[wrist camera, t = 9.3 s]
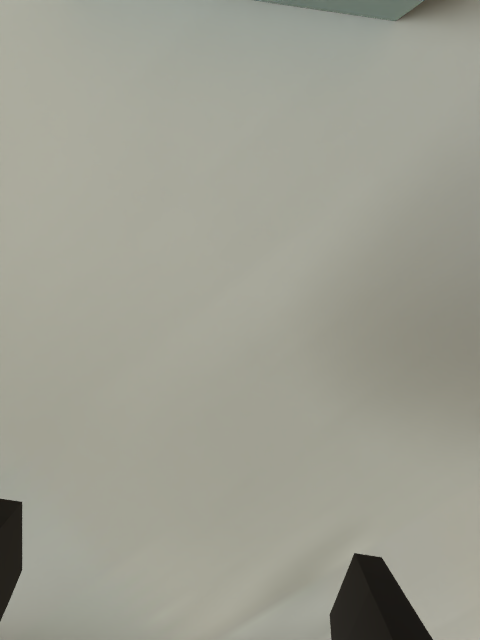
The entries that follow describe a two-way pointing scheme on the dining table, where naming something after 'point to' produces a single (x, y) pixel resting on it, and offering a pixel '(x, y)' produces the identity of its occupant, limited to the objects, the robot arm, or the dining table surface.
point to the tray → (357, 7)
